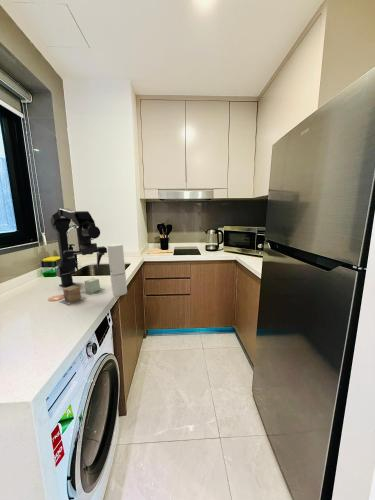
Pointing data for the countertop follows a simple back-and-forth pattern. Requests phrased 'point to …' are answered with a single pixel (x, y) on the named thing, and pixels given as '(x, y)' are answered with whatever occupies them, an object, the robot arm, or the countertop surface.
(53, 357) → the countertop surface
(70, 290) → the walnut block
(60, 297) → the coaster
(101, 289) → the code tile
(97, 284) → the sage block
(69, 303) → the tile
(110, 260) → the tall white block
